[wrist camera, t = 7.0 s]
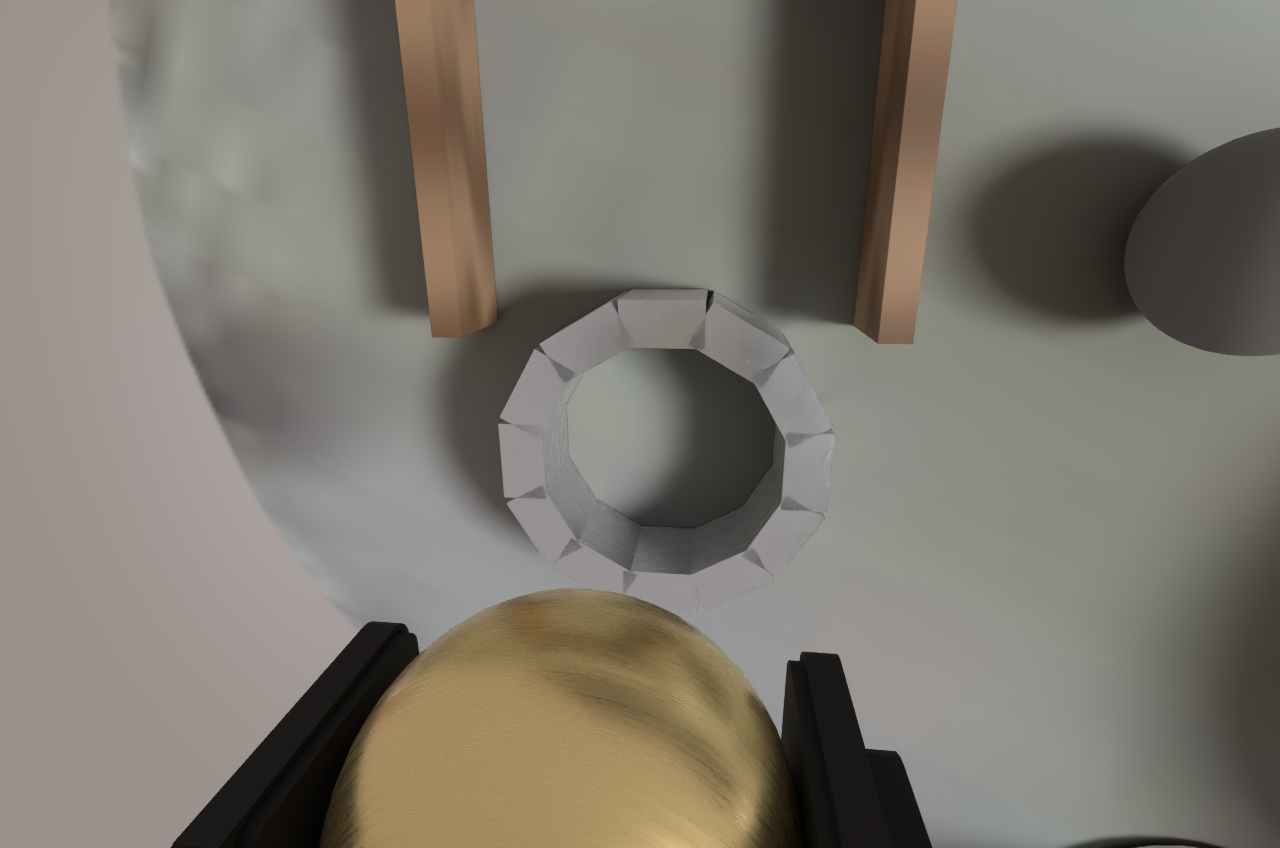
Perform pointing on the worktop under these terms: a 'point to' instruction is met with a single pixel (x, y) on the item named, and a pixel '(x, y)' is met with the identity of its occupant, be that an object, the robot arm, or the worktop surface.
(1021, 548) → the worktop surface
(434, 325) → the walnut housing
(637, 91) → the worktop surface
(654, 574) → the steel race
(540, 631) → the brass ball
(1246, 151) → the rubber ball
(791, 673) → the robot arm
